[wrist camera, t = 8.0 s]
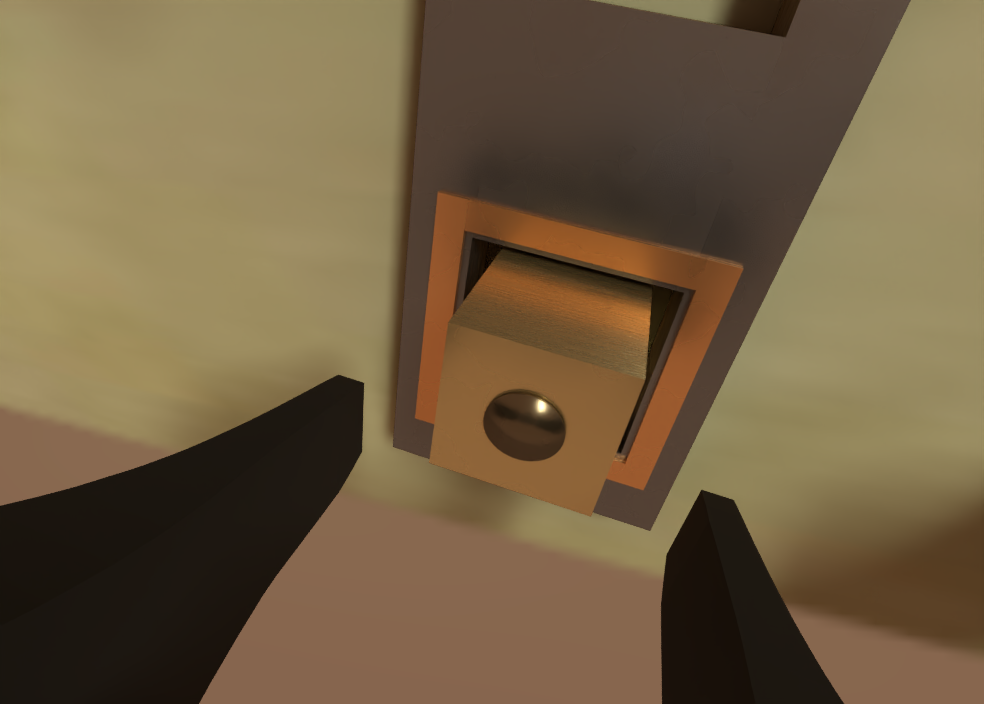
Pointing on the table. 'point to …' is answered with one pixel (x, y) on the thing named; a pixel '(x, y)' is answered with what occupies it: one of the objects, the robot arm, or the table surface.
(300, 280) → the table surface
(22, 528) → the robot arm
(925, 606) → the table surface
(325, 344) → the table surface
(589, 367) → the tan square knob peg
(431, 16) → the grey slotted board
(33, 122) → the table surface
